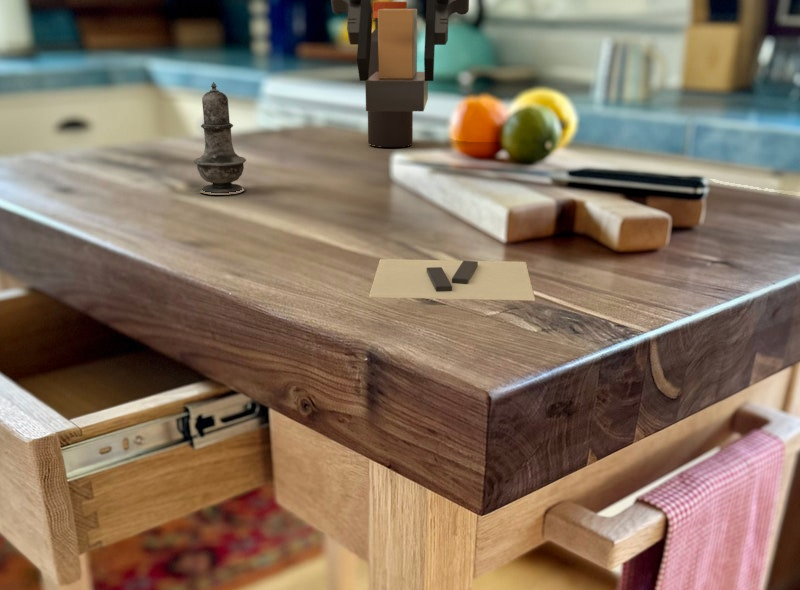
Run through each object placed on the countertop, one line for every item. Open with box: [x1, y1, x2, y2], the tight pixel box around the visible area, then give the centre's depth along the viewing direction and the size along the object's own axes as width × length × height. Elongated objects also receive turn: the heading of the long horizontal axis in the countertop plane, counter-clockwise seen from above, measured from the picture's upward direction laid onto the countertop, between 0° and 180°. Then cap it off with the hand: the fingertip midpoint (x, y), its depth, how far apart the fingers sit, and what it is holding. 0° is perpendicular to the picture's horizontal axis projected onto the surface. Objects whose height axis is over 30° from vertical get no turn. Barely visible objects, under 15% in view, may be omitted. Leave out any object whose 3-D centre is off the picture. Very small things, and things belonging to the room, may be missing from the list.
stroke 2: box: [452, 260, 478, 284], centre depth 68 cm, size 5×1×1 cm, turn 166°
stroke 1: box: [427, 267, 452, 292], centre depth 66 cm, size 5×1×1 cm, turn 6°
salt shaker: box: [193, 81, 247, 193], centre depth 99 cm, size 6×6×12 cm
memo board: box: [368, 258, 536, 302], centre depth 67 cm, size 12×10×1 cm
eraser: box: [364, 8, 429, 112], centre depth 78 cm, size 10×5×8 cm, turn 176°
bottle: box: [367, 0, 414, 148], centre depth 129 cm, size 7×7×20 cm
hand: (395, 69), depth 75 cm, fingers closed on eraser, 5 cm apart
